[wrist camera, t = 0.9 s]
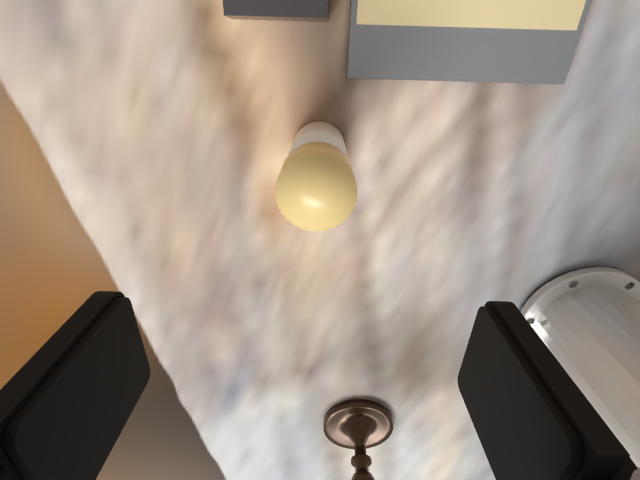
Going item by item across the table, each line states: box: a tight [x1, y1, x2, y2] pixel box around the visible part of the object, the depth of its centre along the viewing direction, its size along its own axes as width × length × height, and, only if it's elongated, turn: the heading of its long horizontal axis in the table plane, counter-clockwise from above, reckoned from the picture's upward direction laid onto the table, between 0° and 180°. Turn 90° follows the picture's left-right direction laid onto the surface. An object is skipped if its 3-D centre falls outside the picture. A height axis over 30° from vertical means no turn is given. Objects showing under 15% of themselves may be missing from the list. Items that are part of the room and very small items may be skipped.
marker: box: [275, 121, 357, 231], centre depth 24 cm, size 5×5×11 cm
